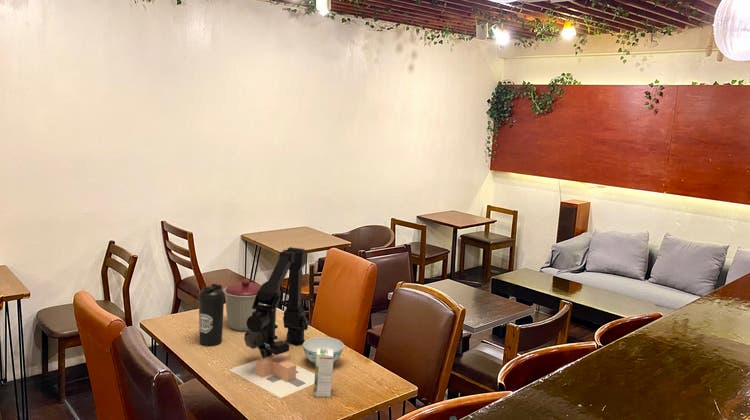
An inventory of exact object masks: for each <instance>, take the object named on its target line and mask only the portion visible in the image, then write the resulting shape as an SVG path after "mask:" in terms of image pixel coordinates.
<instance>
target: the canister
mask: <svg viewBox="0 0 750 420" xmlns="http://www.w3.org/2000/svg"><path fill="white" fill-rule="evenodd" d="M261 286H262V284H259V283H256V282H250V279H248V278H243V279H242V280H241V281H240V282H236V283H235V282H234V283H232V284H229V285H227V286H225V287H224V288H223V289H222V290H223V292H224V293H225V300H224V301H225V309H226V317H227V318H226V319H227V323H228V326H229V327H230V328H231V329H232V330H235V331H240V332H242V331H243V332H247V331H250V330H249V329H248V327H247V320H248V318H249V317H250V316H252V312H254V311H256V309H252V306H253V303H254V300H255V297H256V294H257V292H258V291H259V289H260V288H261ZM258 304H260V303H258ZM260 305H265V304H260Z"/></svg>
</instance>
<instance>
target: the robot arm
mask: <svg viewBox="0 0 750 420" xmlns="http://www.w3.org/2000/svg"><path fill="white" fill-rule="evenodd" d="M278 255H279V256H278V260H277V261H276V263H275V266H274V268H273V270H272V272H271V274H270V276H269V278H268V280H267V281H266V282H263V283H262V284H261V285H262V286H261V288H260V289H259V291H258V292H257V294H256V297H255V300H254V303H253V306H252V309H256V311H254V312H252V316H250V317H249V318H248V320H247V327H248V329H249V330H248V331H245V334H244V337H243V339H244V343H245V346H246V347H248V348H251V350H254V349H258V350H259V352H260V356H261V358H265V357H268V356H271V355H272V354H275V355H278V354H281V353H284V352H285V353H287V352H290V345H293V346H296V347H297V346H299V345H303V343H304V342H305V341H306V340H305V331H307V330H308V327H309V322H310V321H309V320H308V319H307V317H306V310H305V308H304V307H303V305H302V279H303V277H302V273H303V268H304V267H305V265H306V264H307V260H308V256H309V255H308V252H307V251H306V250H305V248H298V247H293V246H292V247H291V246H290V247H287V249H283V250H282V251H280V252H279V254H278ZM288 271H289V272H288ZM288 273H289V275H288V277H289V280H288V281H289V282H288V306H287V308H286V309H285V310H283V311H284V312H283V318H282V321H283V327H284V329H287V332H286V339H284V341H283V340H277V339H278V335H276V329H278V327H279V326H278V324H276V317H277V308H278V307H279V306H278V305H279V303H280V300H281V295H282V292H281V287H282V284H283V282H284V280H285V278H286V276H287V274H288ZM258 303H260V304H264V305H260V304H258Z"/></svg>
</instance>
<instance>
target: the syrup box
mask: <svg viewBox="0 0 750 420" xmlns="http://www.w3.org/2000/svg"><path fill="white" fill-rule="evenodd" d="M333 357H334V350H332V349H317V355H316V365H315V366H314V367H315V369H314V374H315V381H314V384H313V385H314V386H313V397H317V398H318V397H319V398H323V397H324V398H325V397H326V398H331V397H332V386H333V372H334V363H333Z"/></svg>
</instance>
